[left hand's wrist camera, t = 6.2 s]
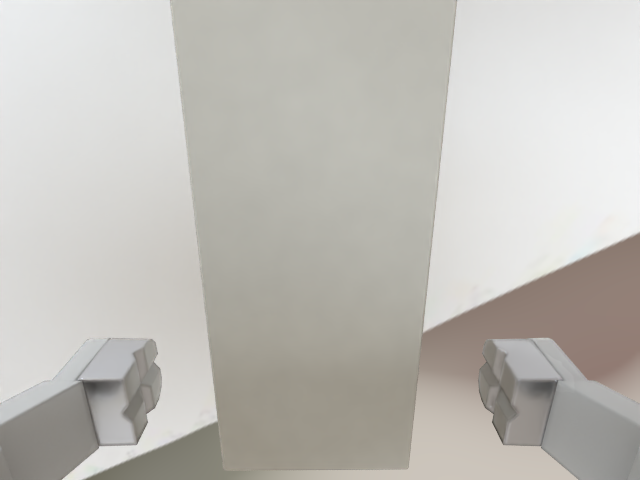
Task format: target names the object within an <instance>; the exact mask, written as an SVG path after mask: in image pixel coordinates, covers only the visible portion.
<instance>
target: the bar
mask: <svg viewBox="0 0 640 480" xmlns="http://www.w3.org/2000/svg"><path fill="white" fill-rule="evenodd" d="M170 4H171V13H172V22H173V30H174V39H175V48H176V57H177V66H178V74H179V83H180V92H181V101H182V110H183V118H184V127H185V136H186V145H187V154H188V163H189V171H190V180H191V189H192V198H193V207H194V215H195V224H196V233H197V242H198V251H199V259H200V268H201V277H202V286H203V295H204V303H205V312H206V321H207V330H208V339H209V347H210V356H211V365H212V374H213V383H214V391H215V400H216V409H217V418H218V427H219V435H220V444H221V453H222V462H223V469H224V470H226V471H227V470H383V469H408V467H409V458H410V449H411V439H412V429H413V420H414V410H415V400H416V391H417V381H418V371H419V362H420V352H421V343H422V333H423V323H424V314H425V304H426V295H427V285H428V275H429V266H430V256H431V247H432V237H433V227H434V218H435V208H436V198H437V189H438V179H439V170H440V160H441V150H442V141H443V131H444V121H445V112H446V102H447V93H448V83H449V73H450V64H451V54H452V44H453V35H454V25H455V16H456V6H457V0H170Z"/></svg>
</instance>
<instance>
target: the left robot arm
mask: <svg viewBox="0 0 640 480" xmlns="http://www.w3.org/2000/svg"><path fill="white" fill-rule="evenodd" d="M157 354H158V353H157V348H156V343H155V342H154V341H153V340H152V339H126V338H112V339H111V338H92V339H88V340H87V341H86V342H85V343H84V344H83V345H82V346H81V347H80V349H79V350H78V351H77V352H76V353H75V354H74V356H73V357H72V358H71V359H70V360H69V361H68V362H67V364H66V365H65V366H64V367H63V368H62V369H61V371H60V372H59V373H58V374H57V375H56V376H55V378H54V379H53V380H52V381H44V382H42V383H40V384H38V385H36V386H34V387H32V388H30V389H28V390H26V391H24V392H22V393H20V394H18V395H16V396H14V397H12V398H10V399H8V400H6V401H4V402H2V403H0V480H62V479H63V478H64V477H65V476H66V475H68V474H69V473H70V472H71V471H72V470H74V469H75V468H76V467H77V466H78V465H79V464H81V463H82V462H83V461H84V460H85V459H87V458H88V457H89V456H90V455H91V454H92V453H94V452H95V451H96V450H97V449H98V448H99V446H119V445H137V443H138V441H139V439H140V437H141V435H142V433H143V431H144V429H145V427H146V425H147V423H148V421H147V415H146V414H147V413H149V412H150V411H151V410H153V409H154V408H155V406H156V404H157V402H158V400H159V396H160V391H161V379H162V377H161V371H160V368H159V367H158V366H157V365H156V364H155V363H154V362H153V361H154V360H155V358H156V356H157ZM482 354H483V356H484V358H485V359H486V361H487V362H486V363H485V364H484V365H483V366H482V367H481V368H480V371H479V379H478V382H479V393H480V396H481V400H482V402H483V404H484V406H485V408H486V409H487V410H489V411H490V412H491V413H493V414H494V416H493V421H492V423H493V425H494V427H495V429H496V431H497V433H498V435H499V437H500V439H501V441H502V443H503V445H520V446H541V448H542V449H543V450H544V451H545V452H547V453H548V454H549V455H550V456H551V457H552V458H554V459H555V460H556V461H557V462H558V463H560V464H561V465H562V466H563V467H564V468H565V469H567V470H568V471H569V472H570V473H571V474H573V475H574V476H575V477H576V478H577V479H578V480H640V403H638V402H636V401H634V400H632V399H630V398H628V397H626V396H624V395H622V394H620V393H618V392H616V391H614V390H612V389H610V388H608V387H606V386H604V385H602V384H600V383H598V382H596V381H588V380H587V379H586V378H585V376H584V375H583V374H582V373H581V372H580V371H579V369H578V368H577V367H576V366H575V365H574V364H573V363H572V361H571V360H570V359H569V358H568V357H567V356H566V354H565V353H564V352H563V351H562V350H561V349H560V347H559V346H558V345H557V344H556V343H555V342H554V341H553V340H552V339H550V338H529V339H493V340H486V342H485V344H484V347H483V353H482Z"/></svg>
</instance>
